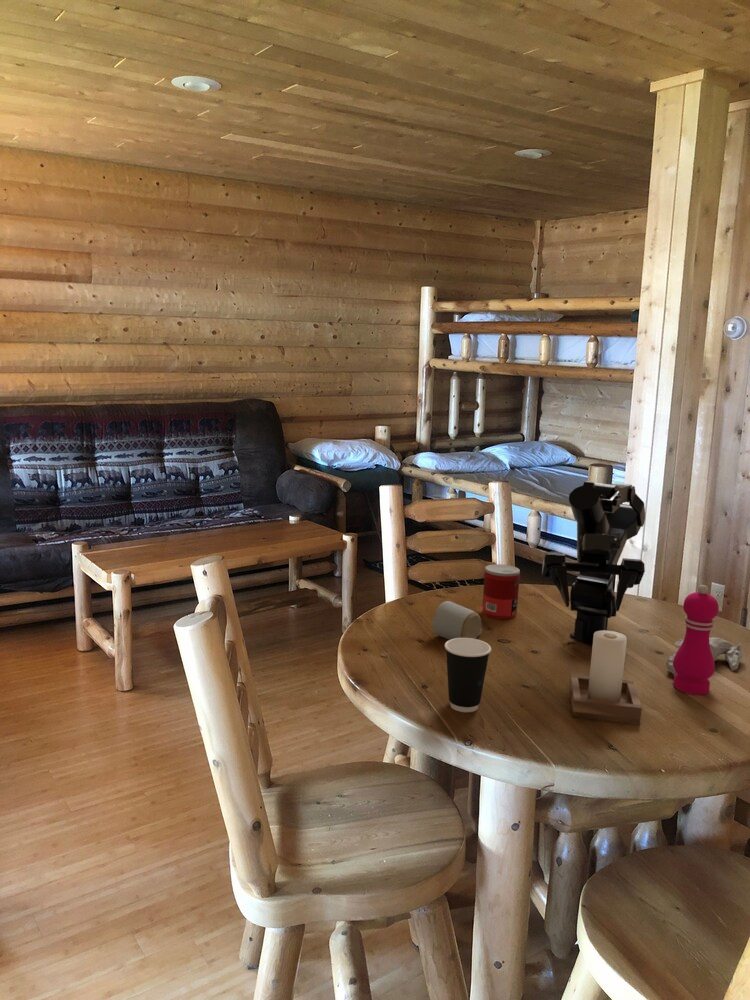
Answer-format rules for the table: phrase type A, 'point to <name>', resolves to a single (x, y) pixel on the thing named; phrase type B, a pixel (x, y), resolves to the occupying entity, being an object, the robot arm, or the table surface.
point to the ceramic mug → (456, 621)
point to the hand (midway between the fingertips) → (592, 608)
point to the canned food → (500, 591)
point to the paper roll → (607, 666)
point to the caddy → (604, 703)
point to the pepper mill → (696, 644)
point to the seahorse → (715, 653)
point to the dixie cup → (466, 672)
